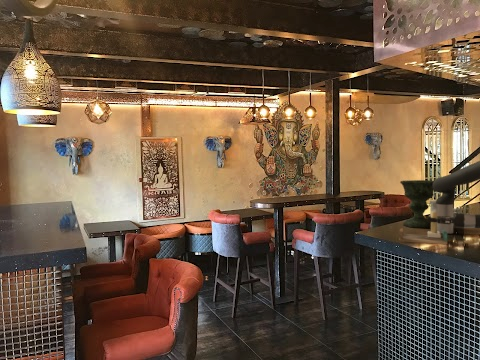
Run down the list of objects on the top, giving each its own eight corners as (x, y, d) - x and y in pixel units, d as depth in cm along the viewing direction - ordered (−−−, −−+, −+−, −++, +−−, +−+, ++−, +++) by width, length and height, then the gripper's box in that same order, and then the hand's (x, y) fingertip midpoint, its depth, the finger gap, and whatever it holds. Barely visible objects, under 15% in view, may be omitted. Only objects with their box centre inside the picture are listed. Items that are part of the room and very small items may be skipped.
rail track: (400, 238, 225) (400, 228, 225) (445, 240, 216) (445, 230, 216) (399, 241, 216) (399, 231, 216) (447, 244, 207) (447, 233, 206)
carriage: (427, 234, 218) (427, 211, 217) (439, 235, 216) (439, 211, 215) (428, 237, 212) (428, 212, 211) (440, 237, 209) (440, 213, 209)
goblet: (424, 230, 248) (424, 182, 246) (393, 225, 267) (393, 181, 265) (444, 226, 259) (444, 180, 258) (413, 222, 279) (413, 179, 277)
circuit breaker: (454, 222, 273) (455, 201, 273) (434, 223, 274) (434, 201, 273) (449, 221, 281) (449, 200, 280) (429, 221, 281) (429, 200, 280)
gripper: (463, 211, 214) (427, 210, 221) (466, 215, 201) (428, 214, 208) (462, 225, 214) (427, 224, 221) (466, 230, 201) (428, 228, 208)
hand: (428, 219), depth 214 cm, fingers closed on carriage, 3 cm apart
